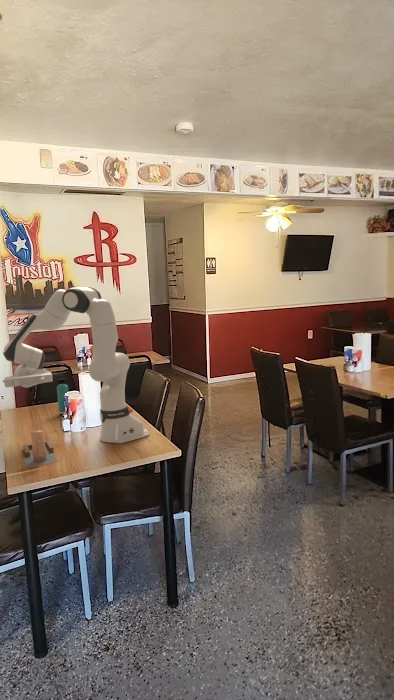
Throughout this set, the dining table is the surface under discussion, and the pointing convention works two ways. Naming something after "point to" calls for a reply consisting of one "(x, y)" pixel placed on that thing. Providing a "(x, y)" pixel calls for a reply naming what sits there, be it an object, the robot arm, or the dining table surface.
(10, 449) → the dining table surface
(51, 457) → the mat
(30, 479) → the dining table surface
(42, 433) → the tall peach cylinder
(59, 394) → the beverage bottle
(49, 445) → the cradle
